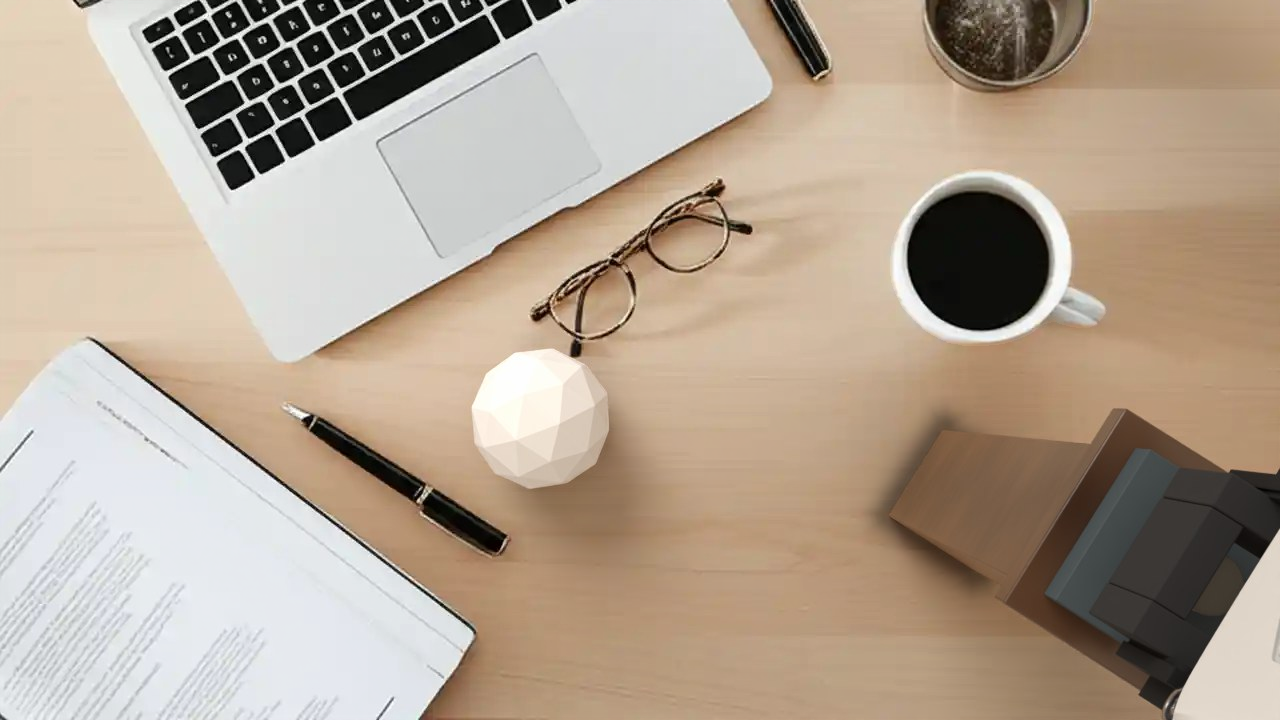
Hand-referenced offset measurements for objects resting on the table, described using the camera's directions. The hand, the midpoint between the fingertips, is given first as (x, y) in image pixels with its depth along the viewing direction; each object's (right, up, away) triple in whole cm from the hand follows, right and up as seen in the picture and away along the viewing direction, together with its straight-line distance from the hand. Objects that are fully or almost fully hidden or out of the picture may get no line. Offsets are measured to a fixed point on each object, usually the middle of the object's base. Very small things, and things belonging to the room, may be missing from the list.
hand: (1215, 588), depth 36 cm
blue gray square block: (0, 0, +4) cm, 4 cm away
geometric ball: (-23, +4, +33) cm, 40 cm away
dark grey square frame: (0, 0, 0) cm, 0 cm away
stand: (+1, -1, +32) cm, 32 cm away
